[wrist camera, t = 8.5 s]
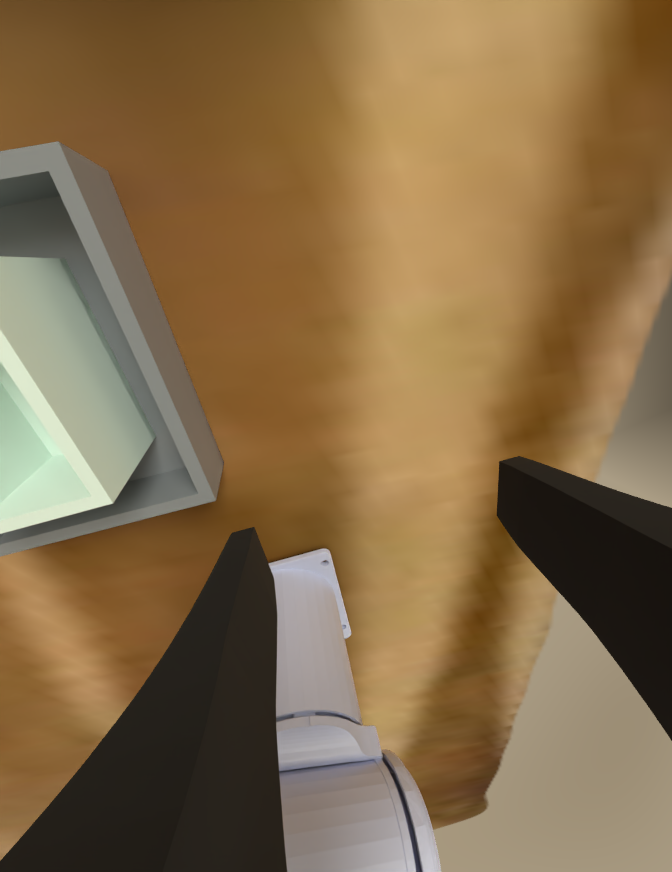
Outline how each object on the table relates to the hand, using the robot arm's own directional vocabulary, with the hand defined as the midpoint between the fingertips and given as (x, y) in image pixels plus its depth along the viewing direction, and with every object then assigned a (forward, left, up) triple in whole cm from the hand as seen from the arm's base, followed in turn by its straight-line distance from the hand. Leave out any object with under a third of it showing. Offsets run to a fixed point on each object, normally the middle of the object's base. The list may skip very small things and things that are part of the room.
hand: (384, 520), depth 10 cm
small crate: (+5, +11, -9) cm, 15 cm away
